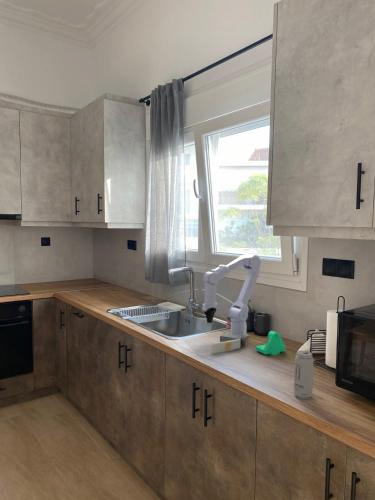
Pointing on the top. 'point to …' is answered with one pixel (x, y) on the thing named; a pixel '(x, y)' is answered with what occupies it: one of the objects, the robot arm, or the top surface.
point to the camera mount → (272, 344)
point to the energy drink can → (303, 375)
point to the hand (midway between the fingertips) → (209, 322)
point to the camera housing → (232, 338)
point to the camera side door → (226, 346)
